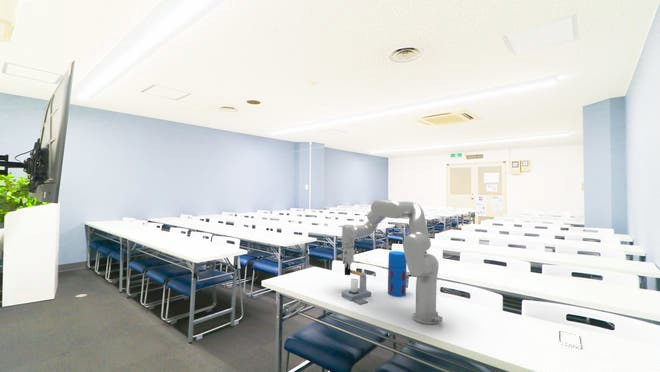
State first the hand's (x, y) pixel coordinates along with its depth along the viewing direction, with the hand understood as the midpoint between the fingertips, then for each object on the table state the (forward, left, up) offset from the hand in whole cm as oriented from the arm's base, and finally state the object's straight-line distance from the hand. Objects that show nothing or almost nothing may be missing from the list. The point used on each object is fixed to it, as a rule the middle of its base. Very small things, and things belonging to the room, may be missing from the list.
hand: (347, 274), depth 180 cm
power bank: (-98, -44, -11) cm, 108 cm away
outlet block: (-9, 0, -10) cm, 14 cm away
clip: (-4, -4, +1) cm, 5 cm away
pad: (-17, +4, -10) cm, 21 cm away
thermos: (-19, -24, -11) cm, 32 cm away
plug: (-9, +2, -10) cm, 14 cm away
